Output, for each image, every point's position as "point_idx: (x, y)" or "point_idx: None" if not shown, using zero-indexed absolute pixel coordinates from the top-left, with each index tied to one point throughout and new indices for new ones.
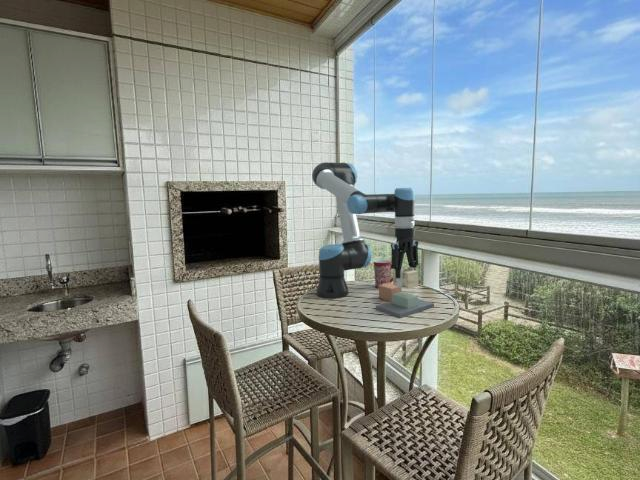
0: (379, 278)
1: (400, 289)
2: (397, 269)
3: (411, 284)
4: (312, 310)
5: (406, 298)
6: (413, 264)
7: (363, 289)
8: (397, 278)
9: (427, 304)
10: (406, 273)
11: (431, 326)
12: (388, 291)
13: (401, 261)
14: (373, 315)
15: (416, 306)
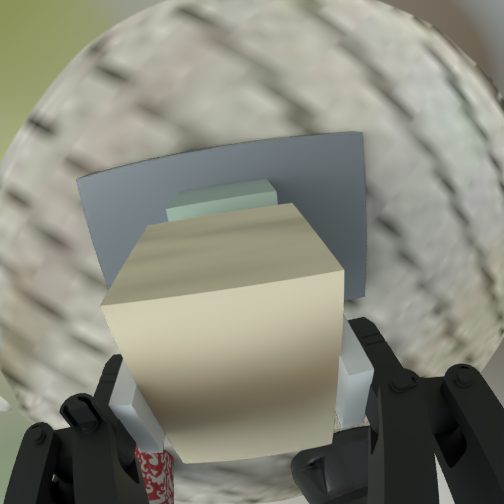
0: (166, 483)
1: None
2: (422, 382)
3: (250, 219)
4: (480, 354)
5: (277, 201)
6: (104, 444)
7: (226, 462)
8: None
9: (117, 179)
10: (343, 294)
11: None
12: None
13: (415, 480)
14: (415, 230)
15: (196, 181)
